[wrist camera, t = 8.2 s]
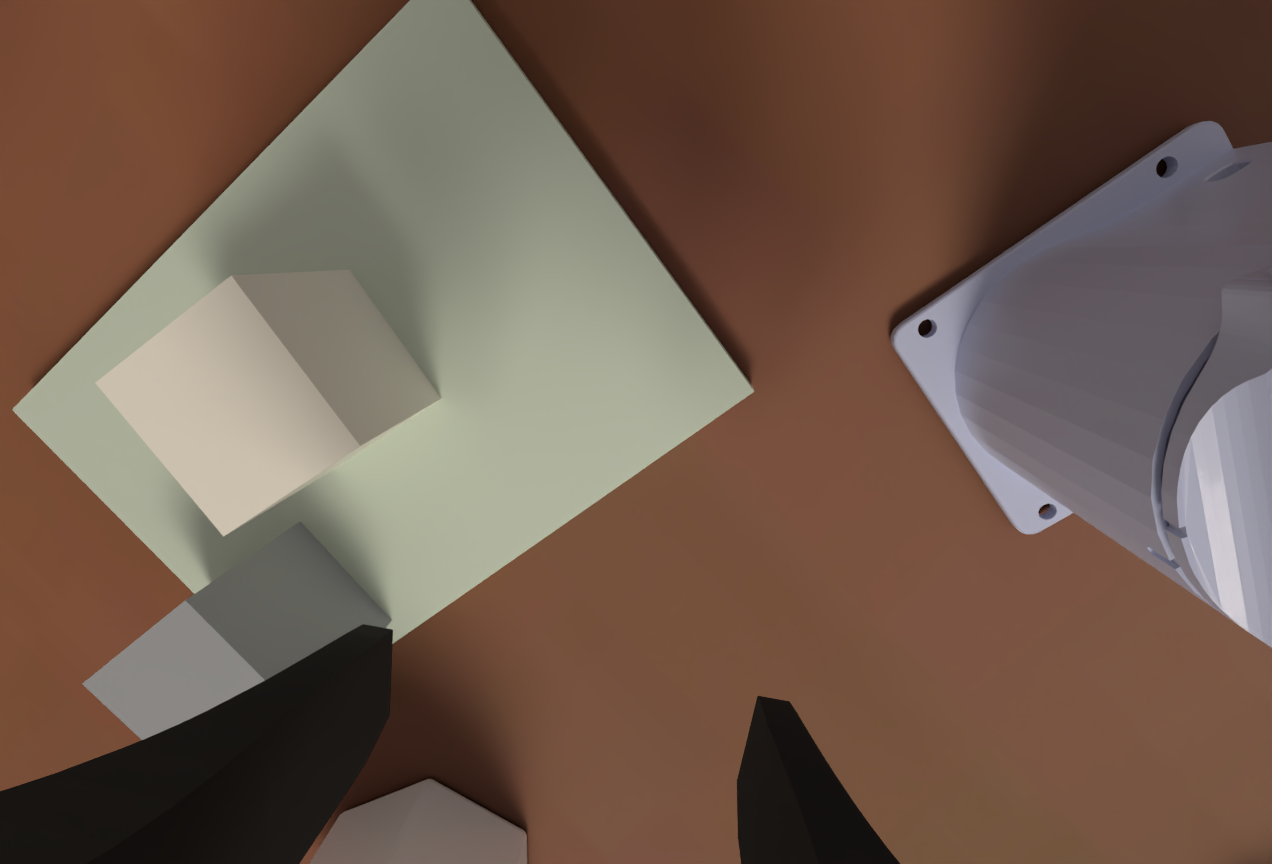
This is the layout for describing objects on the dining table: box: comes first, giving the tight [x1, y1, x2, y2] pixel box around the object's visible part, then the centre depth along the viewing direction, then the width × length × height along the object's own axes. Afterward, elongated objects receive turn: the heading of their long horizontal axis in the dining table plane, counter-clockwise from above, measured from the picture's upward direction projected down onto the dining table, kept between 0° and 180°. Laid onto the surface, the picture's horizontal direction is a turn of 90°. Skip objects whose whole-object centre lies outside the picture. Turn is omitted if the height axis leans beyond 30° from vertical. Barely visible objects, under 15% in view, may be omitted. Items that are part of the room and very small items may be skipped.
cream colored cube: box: [95, 270, 442, 537], centre depth 17 cm, size 5×5×5 cm
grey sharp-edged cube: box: [83, 522, 392, 740], centre depth 20 cm, size 5×5×5 cm
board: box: [12, 0, 754, 644], centre depth 19 cm, size 20×14×4 cm
